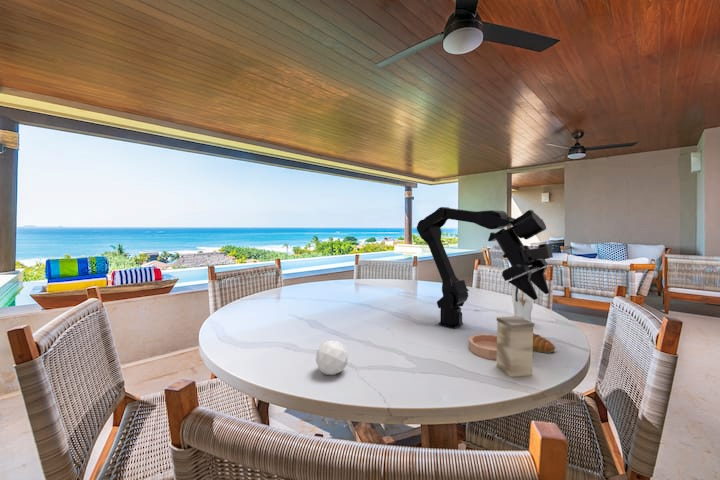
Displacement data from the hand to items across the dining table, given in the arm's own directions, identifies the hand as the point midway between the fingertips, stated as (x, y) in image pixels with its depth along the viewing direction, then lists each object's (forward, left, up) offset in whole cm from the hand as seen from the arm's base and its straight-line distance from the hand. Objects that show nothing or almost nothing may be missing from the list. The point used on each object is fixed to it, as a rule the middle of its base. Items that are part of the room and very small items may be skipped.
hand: (542, 296), depth 85 cm
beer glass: (-10, +19, -15) cm, 26 cm away
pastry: (-2, +1, -16) cm, 16 cm away
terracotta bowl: (-10, -10, -15) cm, 21 cm away
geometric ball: (-35, -48, -15) cm, 61 cm away
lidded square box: (-2, -18, -15) cm, 24 cm away
